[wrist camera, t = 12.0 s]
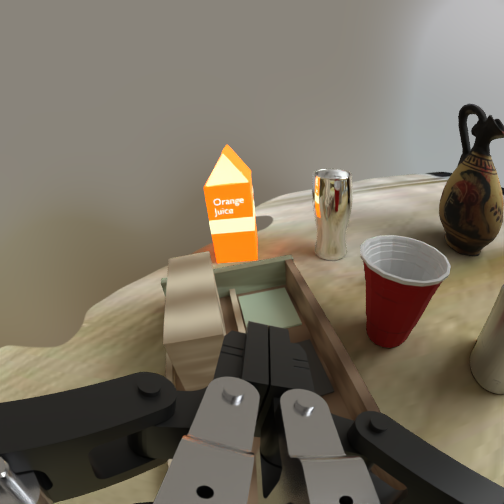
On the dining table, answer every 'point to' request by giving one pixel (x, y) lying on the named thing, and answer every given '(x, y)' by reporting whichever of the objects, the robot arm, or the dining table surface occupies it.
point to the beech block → (193, 320)
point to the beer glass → (332, 211)
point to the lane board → (293, 340)
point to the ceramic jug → (473, 188)
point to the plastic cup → (399, 285)
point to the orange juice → (231, 209)
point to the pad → (270, 309)
